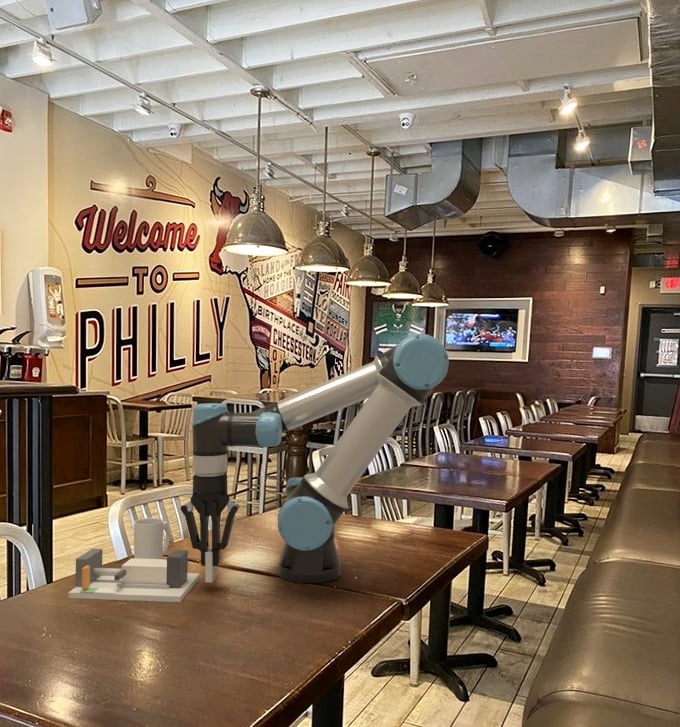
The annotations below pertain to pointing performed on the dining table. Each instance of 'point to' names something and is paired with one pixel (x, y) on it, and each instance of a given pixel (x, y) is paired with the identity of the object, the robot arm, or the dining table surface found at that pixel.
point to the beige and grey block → (156, 570)
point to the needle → (85, 577)
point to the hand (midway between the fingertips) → (210, 580)
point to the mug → (150, 538)
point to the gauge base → (123, 584)
